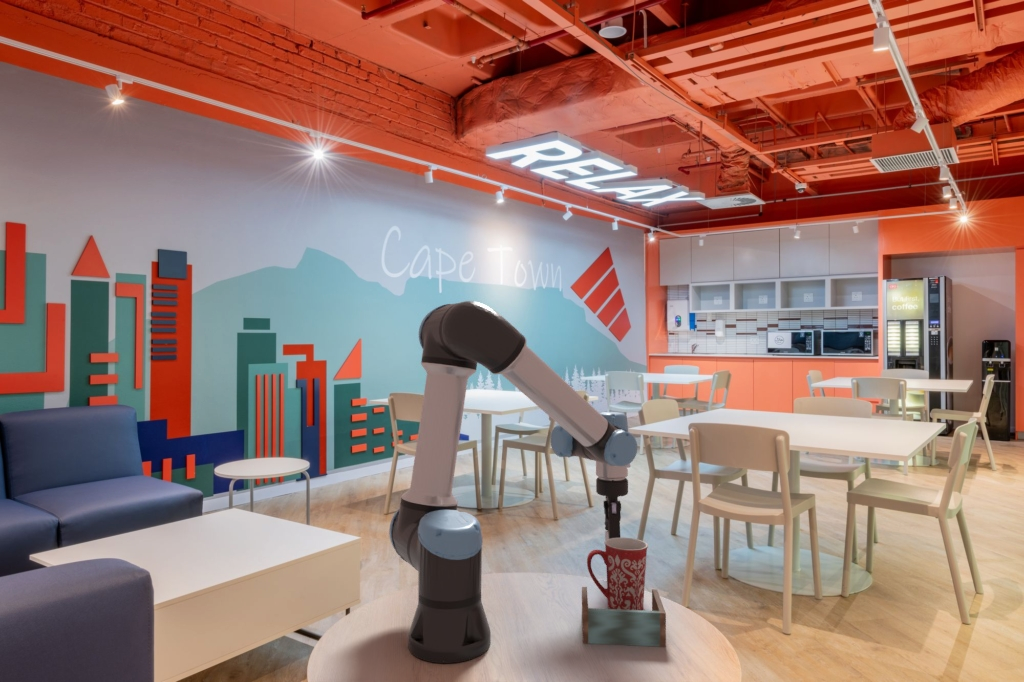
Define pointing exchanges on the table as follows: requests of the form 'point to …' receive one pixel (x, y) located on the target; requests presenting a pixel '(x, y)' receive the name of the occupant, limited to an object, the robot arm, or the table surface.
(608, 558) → the mug
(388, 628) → the table surface
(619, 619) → the dock
